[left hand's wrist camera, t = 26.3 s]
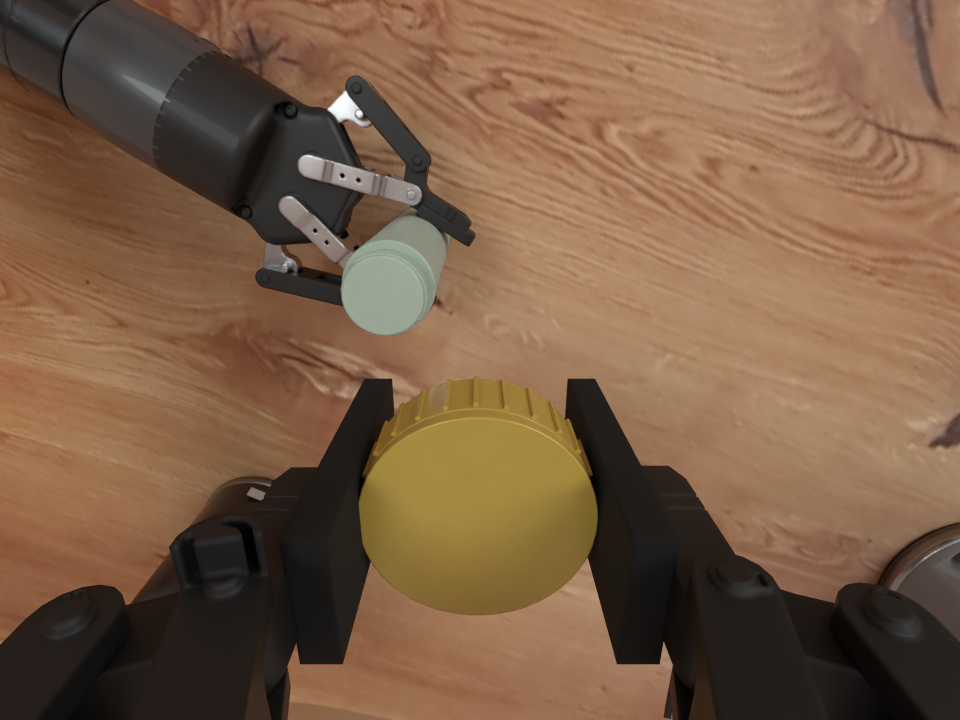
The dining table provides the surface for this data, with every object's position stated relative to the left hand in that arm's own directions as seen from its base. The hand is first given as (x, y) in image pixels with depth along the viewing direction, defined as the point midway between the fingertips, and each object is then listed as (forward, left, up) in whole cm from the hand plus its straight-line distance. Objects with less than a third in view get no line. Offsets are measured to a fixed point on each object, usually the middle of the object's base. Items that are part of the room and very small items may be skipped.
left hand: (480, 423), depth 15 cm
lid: (0, 0, +4) cm, 4 cm away
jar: (+1, +4, -26) cm, 26 cm away
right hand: (0, +2, -19) cm, 19 cm away
